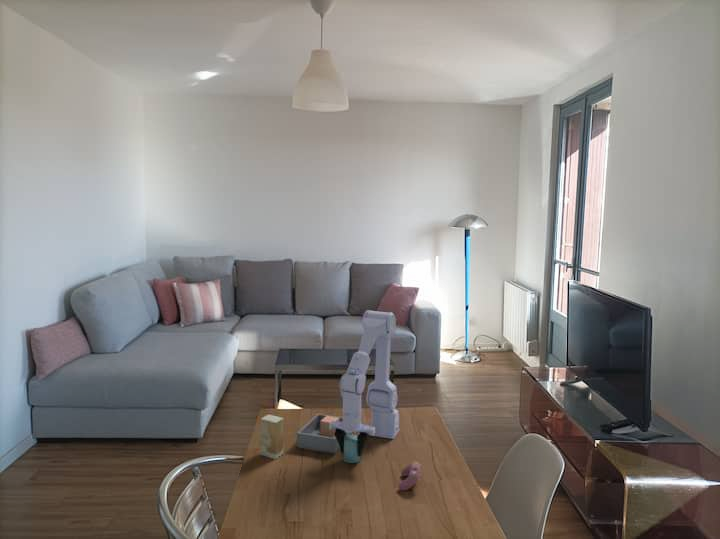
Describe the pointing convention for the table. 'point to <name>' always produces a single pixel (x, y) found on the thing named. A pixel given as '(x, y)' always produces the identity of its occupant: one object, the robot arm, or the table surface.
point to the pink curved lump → (410, 476)
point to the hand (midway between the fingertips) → (351, 453)
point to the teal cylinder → (351, 449)
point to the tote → (317, 437)
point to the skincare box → (272, 436)
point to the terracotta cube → (327, 426)
